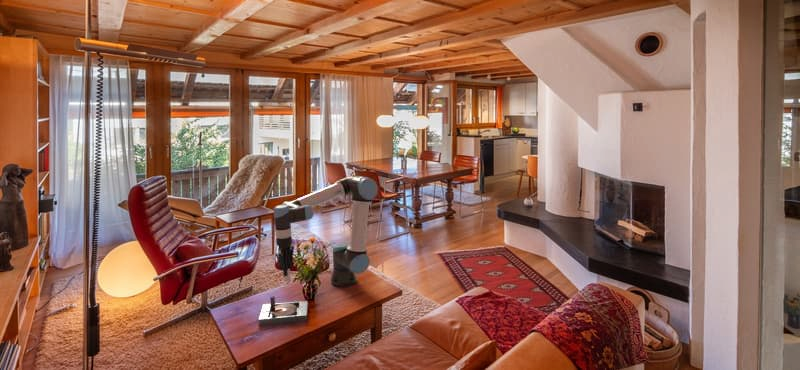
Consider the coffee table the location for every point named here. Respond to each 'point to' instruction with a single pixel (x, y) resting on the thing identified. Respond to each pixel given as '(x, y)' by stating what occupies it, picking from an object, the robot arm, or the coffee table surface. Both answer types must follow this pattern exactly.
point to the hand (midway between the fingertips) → (287, 280)
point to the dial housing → (268, 319)
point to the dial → (282, 309)
